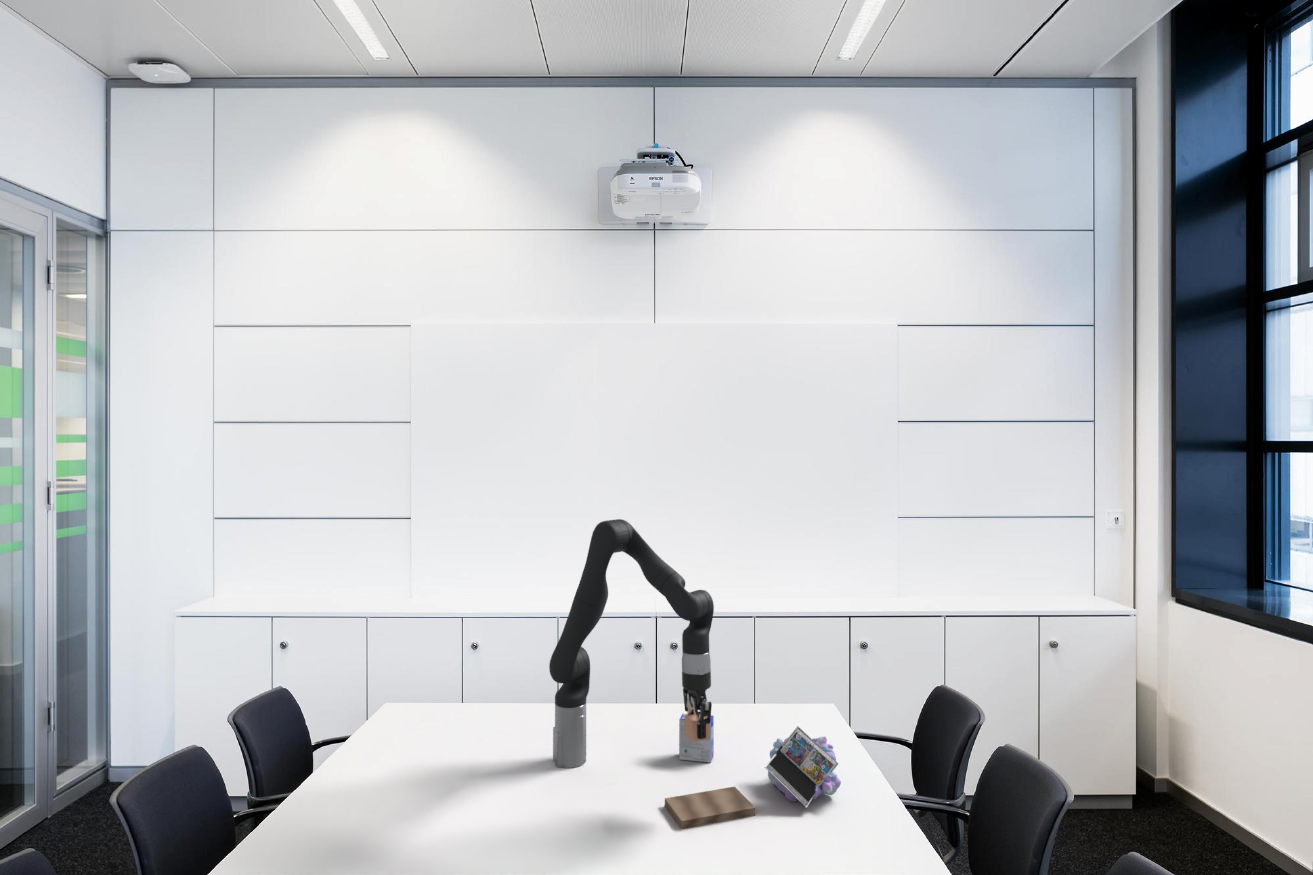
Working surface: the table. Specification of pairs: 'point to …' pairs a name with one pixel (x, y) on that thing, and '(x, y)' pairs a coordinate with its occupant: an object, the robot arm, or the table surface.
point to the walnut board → (709, 807)
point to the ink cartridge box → (695, 744)
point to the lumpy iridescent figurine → (803, 767)
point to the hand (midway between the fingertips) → (697, 734)
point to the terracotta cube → (694, 728)
